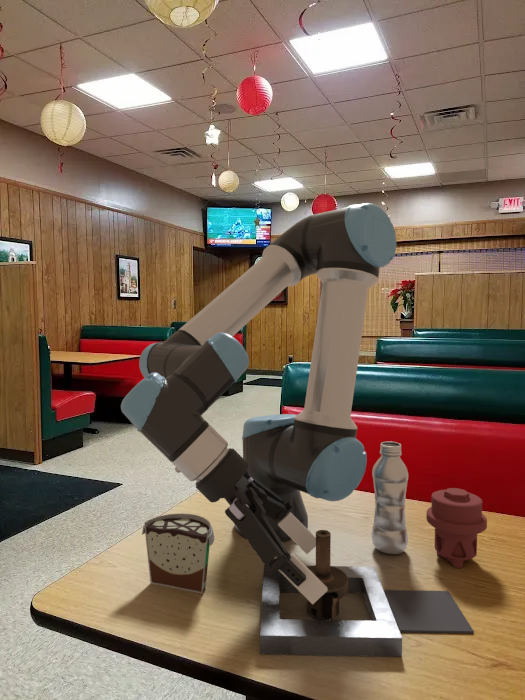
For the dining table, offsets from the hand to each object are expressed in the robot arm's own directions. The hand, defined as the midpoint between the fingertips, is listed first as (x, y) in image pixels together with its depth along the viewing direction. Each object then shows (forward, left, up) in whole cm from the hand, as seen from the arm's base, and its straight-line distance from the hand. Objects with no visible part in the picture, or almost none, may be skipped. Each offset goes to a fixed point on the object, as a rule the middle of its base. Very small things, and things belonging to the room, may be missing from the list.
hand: (316, 569), depth 70 cm
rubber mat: (-2, +16, -7) cm, 18 cm away
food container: (-10, -21, -7) cm, 24 cm away
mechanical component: (-18, +26, -7) cm, 32 cm away
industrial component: (0, +1, -7) cm, 7 cm away
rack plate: (-1, +1, -7) cm, 7 cm away
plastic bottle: (-21, +15, -7) cm, 27 cm away
